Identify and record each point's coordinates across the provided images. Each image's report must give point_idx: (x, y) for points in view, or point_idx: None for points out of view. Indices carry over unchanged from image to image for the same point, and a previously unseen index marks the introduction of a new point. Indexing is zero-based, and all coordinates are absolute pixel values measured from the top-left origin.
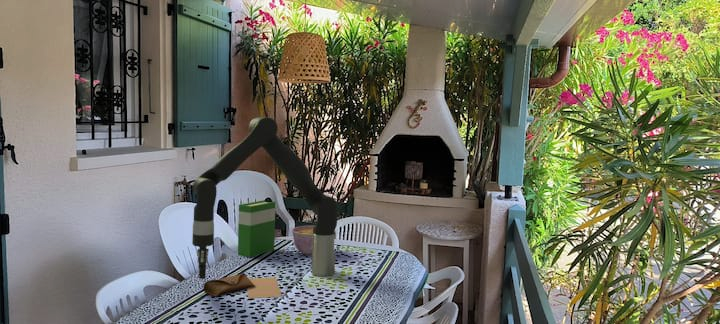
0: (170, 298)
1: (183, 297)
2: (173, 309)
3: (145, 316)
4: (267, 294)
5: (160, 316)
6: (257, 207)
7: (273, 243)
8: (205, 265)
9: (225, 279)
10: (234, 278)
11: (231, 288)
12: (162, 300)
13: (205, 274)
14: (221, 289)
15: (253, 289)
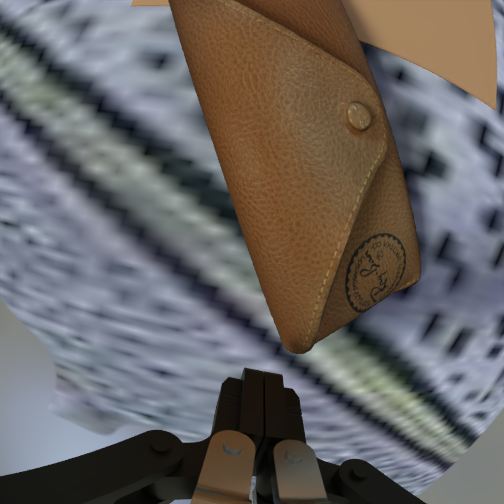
0: None
1: (325, 424)
2: (431, 443)
3: (421, 489)
4: (464, 5)
5: (451, 462)
6: None
7: None
8: (409, 493)
9: (327, 176)
10: (309, 80)
11: (397, 152)
12: None
13: (256, 384)
14: (406, 237)
15: (374, 12)
